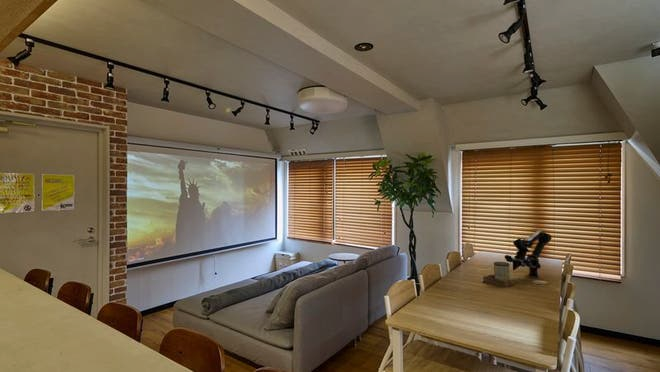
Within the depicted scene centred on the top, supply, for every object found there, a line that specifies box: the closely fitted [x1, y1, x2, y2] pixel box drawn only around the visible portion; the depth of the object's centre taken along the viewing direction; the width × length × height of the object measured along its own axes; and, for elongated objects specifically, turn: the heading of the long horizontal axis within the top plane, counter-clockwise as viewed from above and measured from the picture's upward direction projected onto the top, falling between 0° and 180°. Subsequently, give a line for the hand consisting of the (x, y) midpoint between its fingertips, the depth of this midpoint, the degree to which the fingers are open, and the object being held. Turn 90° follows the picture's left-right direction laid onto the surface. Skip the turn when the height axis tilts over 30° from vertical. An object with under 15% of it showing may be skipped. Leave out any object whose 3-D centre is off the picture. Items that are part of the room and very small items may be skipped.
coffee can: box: [493, 261, 511, 281], centre depth 237 cm, size 10×10×14 cm
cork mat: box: [531, 279, 549, 286], centre depth 234 cm, size 10×10×1 cm
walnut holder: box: [482, 273, 515, 288], centre depth 235 cm, size 11×16×4 cm
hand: (513, 269), depth 243 cm, fingers closed
